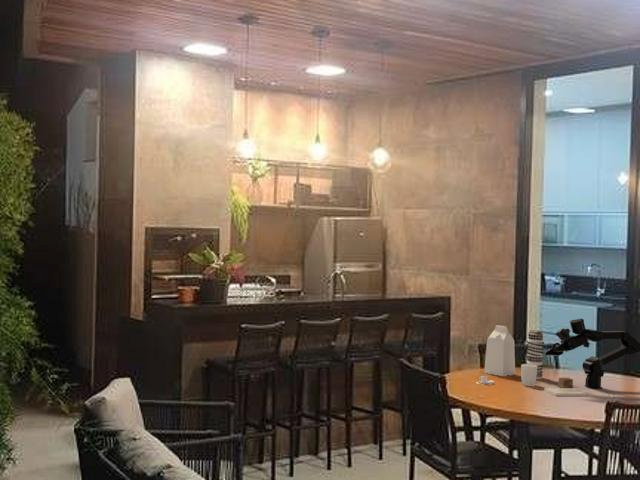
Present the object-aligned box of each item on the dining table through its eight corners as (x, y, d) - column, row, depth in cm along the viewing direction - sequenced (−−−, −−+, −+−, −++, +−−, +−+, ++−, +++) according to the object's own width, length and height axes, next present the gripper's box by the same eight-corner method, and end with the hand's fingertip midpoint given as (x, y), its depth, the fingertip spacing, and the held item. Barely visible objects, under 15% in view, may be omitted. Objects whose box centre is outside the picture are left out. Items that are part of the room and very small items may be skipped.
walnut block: (567, 387, 396) (568, 377, 396) (572, 389, 391) (572, 379, 391) (558, 387, 395) (558, 377, 395) (563, 389, 390) (563, 379, 390)
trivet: (575, 390, 387) (575, 388, 387) (586, 395, 375) (587, 393, 375) (544, 390, 385) (544, 388, 385) (555, 395, 373) (555, 393, 373)
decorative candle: (540, 379, 414) (542, 332, 413) (523, 377, 418) (524, 330, 418) (545, 377, 421) (547, 330, 421) (528, 375, 426) (529, 329, 426)
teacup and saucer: (495, 384, 400) (495, 376, 400) (491, 386, 393) (491, 378, 393) (478, 382, 404) (478, 374, 404) (474, 384, 397) (474, 376, 397)
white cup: (537, 387, 394) (537, 367, 393) (520, 385, 395) (521, 366, 395) (536, 384, 401) (536, 364, 401) (520, 383, 403) (520, 363, 403)
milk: (515, 374, 428) (516, 326, 428) (503, 376, 420) (504, 327, 420) (496, 370, 437) (497, 324, 436) (484, 373, 429) (485, 325, 428)
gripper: (560, 331, 405) (534, 341, 400) (577, 322, 387) (550, 333, 383) (570, 351, 402) (544, 361, 398) (587, 343, 384) (560, 354, 380)
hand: (549, 352), depth 390 cm, fingers open, 9 cm apart
